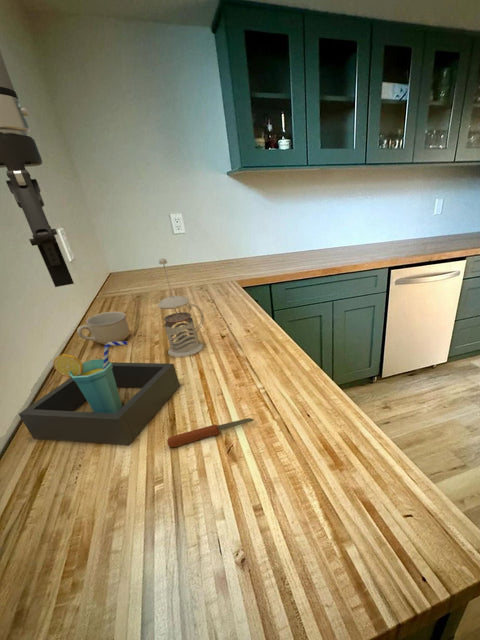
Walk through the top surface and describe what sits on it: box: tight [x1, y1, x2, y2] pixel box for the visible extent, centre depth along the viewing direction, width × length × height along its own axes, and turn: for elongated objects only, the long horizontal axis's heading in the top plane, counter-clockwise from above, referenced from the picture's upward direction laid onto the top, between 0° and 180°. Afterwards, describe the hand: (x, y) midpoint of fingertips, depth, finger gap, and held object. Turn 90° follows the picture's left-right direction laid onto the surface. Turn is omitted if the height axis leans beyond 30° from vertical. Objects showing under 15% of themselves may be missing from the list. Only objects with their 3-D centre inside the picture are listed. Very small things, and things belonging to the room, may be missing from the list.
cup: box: [53, 340, 128, 413], centre depth 68 cm, size 14×8×15 cm, turn 112°
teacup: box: [76, 311, 130, 346], centre depth 102 cm, size 14×11×8 cm
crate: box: [18, 361, 181, 446], centre depth 70 cm, size 21×20×6 cm
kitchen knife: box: [166, 417, 255, 448], centre depth 62 cm, size 16×1×2 cm, turn 111°
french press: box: [157, 258, 205, 358], centre depth 90 cm, size 10×12×25 cm
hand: (62, 278), depth 61 cm, fingers open, 13 cm apart
